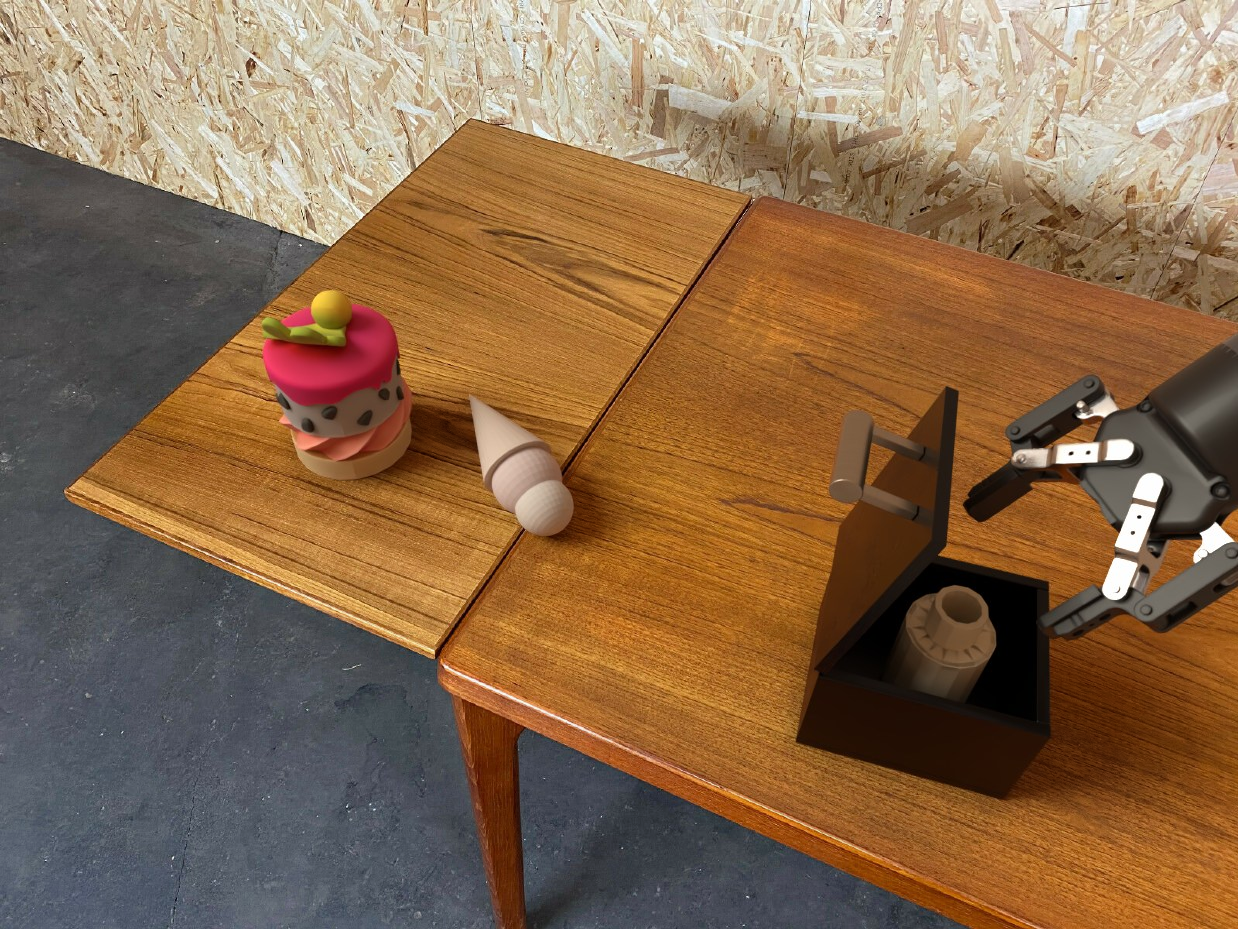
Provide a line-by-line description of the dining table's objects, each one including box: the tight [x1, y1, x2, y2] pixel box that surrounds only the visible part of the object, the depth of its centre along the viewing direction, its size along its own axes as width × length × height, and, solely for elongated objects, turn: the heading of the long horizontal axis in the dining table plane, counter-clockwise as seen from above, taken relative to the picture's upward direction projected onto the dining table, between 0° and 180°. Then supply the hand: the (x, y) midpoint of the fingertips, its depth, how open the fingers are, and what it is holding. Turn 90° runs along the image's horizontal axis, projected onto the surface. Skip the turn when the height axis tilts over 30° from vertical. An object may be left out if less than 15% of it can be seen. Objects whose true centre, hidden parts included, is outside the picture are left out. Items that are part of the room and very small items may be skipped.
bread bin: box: [795, 554, 1052, 800], centre depth 64 cm, size 14×12×9 cm
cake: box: [261, 289, 413, 481], centre depth 77 cm, size 10×11×15 cm
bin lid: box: [814, 385, 960, 674], centre depth 56 cm, size 14×12×6 cm
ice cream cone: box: [468, 393, 575, 537], centre depth 77 cm, size 6×6×15 cm
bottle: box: [881, 585, 996, 703], centre depth 63 cm, size 6×6×10 cm
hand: (1005, 570), depth 55 cm, fingers open, 8 cm apart
